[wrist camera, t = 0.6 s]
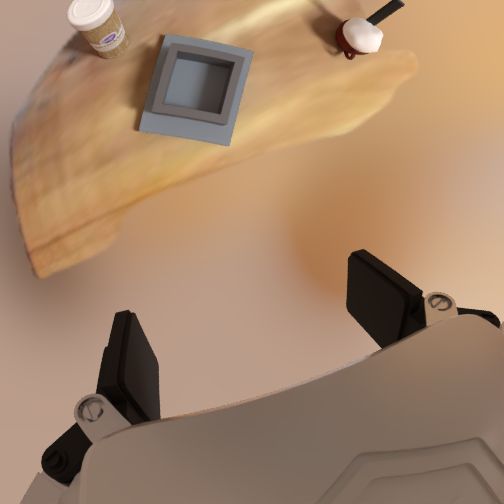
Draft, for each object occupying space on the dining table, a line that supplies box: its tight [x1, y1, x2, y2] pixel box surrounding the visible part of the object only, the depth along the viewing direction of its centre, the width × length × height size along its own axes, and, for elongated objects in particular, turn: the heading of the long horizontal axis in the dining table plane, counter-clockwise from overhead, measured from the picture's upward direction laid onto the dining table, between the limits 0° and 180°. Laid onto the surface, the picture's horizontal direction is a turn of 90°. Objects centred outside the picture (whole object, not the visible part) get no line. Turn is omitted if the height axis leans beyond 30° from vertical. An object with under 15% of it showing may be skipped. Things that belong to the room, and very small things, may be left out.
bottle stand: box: [139, 34, 254, 146], centre depth 29 cm, size 14×12×4 cm
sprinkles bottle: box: [67, 0, 129, 59], centre depth 20 cm, size 5×5×14 cm
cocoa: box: [336, 0, 404, 60], centre depth 27 cm, size 10×6×12 cm, turn 140°
